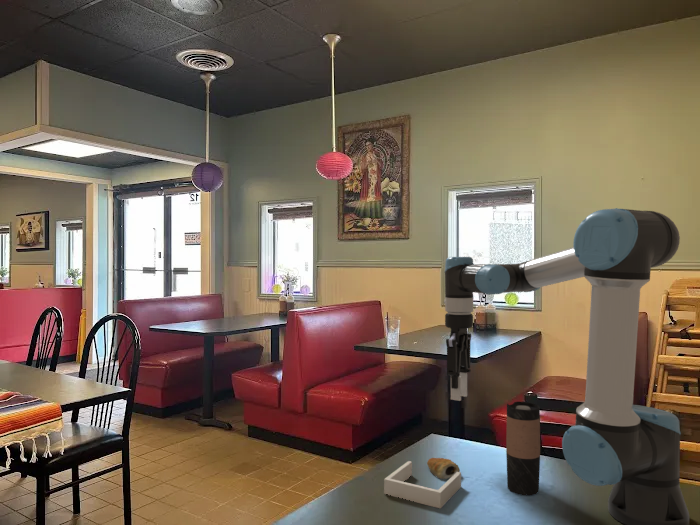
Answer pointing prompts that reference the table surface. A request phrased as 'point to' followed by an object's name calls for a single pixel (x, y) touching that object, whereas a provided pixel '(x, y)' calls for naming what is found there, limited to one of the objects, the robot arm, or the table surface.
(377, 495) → the table surface
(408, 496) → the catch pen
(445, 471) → the pastry
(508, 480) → the travel mug
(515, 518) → the table surface
